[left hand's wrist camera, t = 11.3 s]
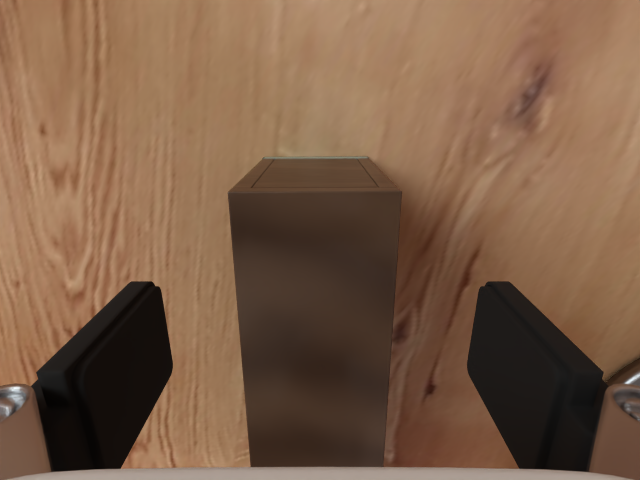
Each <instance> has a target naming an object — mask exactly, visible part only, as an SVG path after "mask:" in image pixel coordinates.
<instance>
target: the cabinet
mask: <svg viewBox="0 0 640 480" xmlns="http://www.w3.org/2000/svg"><path fill="white" fill-rule="evenodd" d="M401 196H402V191H401V190H400V189H399V188H398V187H397V186H396V185H395V184H394V183H393V182H392V181H391V180H390V179H389V178H388V177H387V176H386V175H385V174H384V173H383V172H382V171H381V170H380V169H379V168H378V167H377V166H376V165H375V164H374V163H373V162H372V161H371V160H370V159H369V158H368V157H264V158H263V159H262V160H261V161H260V162H259V163H258V164H257V165H256V166H255V167H254V168H253V169H252V170H251V171H250V172H249V173H248V174H247V175H246V176H245V177H243V178H242V179H241V180H240V181H239V182H238V183H237V184H236V185H235V186H234V187H233V188H232V189H231V190H230V191H229V192H228V200H229V212H230V224H231V236H232V248H233V260H234V272H235V284H236V296H237V308H238V320H239V332H240V344H241V356H242V368H243V380H244V392H245V404H246V416H247V428H248V440H249V452H250V464H251V467H383V462H384V447H385V432H386V418H387V403H388V388H389V373H390V359H391V344H392V329H393V314H394V300H395V285H396V270H397V255H398V241H399V226H400V211H401Z"/></svg>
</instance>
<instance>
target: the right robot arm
mask: <svg viewBox="0 0 640 480" xmlns="http://www.w3.org/2000/svg"><path fill="white" fill-rule="evenodd" d="M606 384H607V385H608V386H612V385H614V384H631V385H637V386H640V359H638V360H636V361H634V362H632V363H631V364H629V365H627V366H626V367H624V368H623V369H622V370H620V371H619V372H617V373H616V374H615V375H614V376H613V377H611V378H610V379H609V380H608V381H607V382H606Z"/></svg>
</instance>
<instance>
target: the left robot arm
mask: <svg viewBox="0 0 640 480" xmlns="http://www.w3.org/2000/svg"><path fill="white" fill-rule="evenodd" d="M172 369H173V361H172V355H171V349H170V343H169V336H168V330H167V324H166V318H165V311H164V305H163V299H162V293H161V289H160V287H158V286H155V285H154V283H153V282H130V283H129V284H128V285H127V286H126V287H125V288H123V289H122V290H121V291H120V292H119V293H118V294H117V295H116V296H115V297H114V298H113V299H112V300H111V301H110V302H109V303H108V304H107V305H106V306H105V307H104V308H103V309H102V310H101V311H100V312H99V313H98V314H96V315H95V316H94V317H93V318H92V319H91V320H90V321H89V322H88V323H87V324H86V325H85V326H84V327H83V328H82V329H81V330H80V331H79V332H78V333H77V334H76V335H75V336H74V337H73V338H72V339H71V340H69V341H68V342H67V343H66V344H65V345H64V346H63V347H62V348H61V349H60V350H59V351H58V352H57V353H56V354H55V355H54V356H53V357H52V358H51V359H50V360H49V361H48V362H47V363H46V364H45V365H43V366H42V367H41V368H40V369H39V370H38V371H37V372H36V373H37V376H38V380H37V381H36V382H35V383H34V384H33V385H32V386H28V385H26V384H9V385H3V386H0V480H640V386H637V385H631V384H614V385H612V386H608V385H607V384H606V383H605V382H604V381H603V380H602V376H603V373H604V372H603V371H602V370H601V369H600V368H599V367H598V366H597V365H595V364H594V363H593V362H592V361H591V360H590V359H589V358H588V357H587V356H586V355H585V354H584V353H583V352H582V351H581V350H580V349H579V348H578V347H577V346H576V345H575V344H574V343H573V342H572V341H571V340H569V339H568V338H567V337H566V336H565V335H564V334H563V333H562V332H561V331H560V330H559V329H558V328H557V327H556V326H555V325H554V324H553V323H552V322H551V321H550V320H549V319H548V318H547V317H546V316H545V315H544V314H542V313H541V312H540V311H539V310H538V309H537V308H536V307H535V306H534V305H533V304H532V303H531V302H530V301H529V300H528V299H527V298H526V297H525V296H524V295H523V294H522V293H521V292H520V291H519V290H518V289H517V288H515V287H514V286H513V285H512V284H511V283H510V282H487V283H486V285H485V286H482V287H480V289H479V293H478V299H477V305H476V311H475V318H474V324H473V330H472V336H471V343H470V349H469V355H468V361H467V369H468V373H469V376H470V378H471V380H472V382H473V383H474V385H475V387H476V389H477V391H478V393H479V395H480V396H481V398H482V400H483V402H484V404H485V406H486V408H487V409H488V411H489V413H490V415H491V417H492V419H493V420H494V422H495V424H496V426H497V428H498V430H499V432H500V433H501V435H502V437H503V439H504V441H505V443H506V445H507V446H508V448H509V450H510V452H511V454H512V456H513V458H514V459H515V461H516V463H517V465H518V467H519V469H498V468H449V467H191V468H142V469H121V467H122V465H123V463H124V461H125V459H126V458H127V456H128V454H129V452H130V450H131V448H132V446H133V445H134V443H135V441H136V439H137V437H138V435H139V433H140V432H141V430H142V428H143V426H144V424H145V422H146V420H147V419H148V417H149V415H150V413H151V411H152V409H153V408H154V406H155V404H156V402H157V400H158V398H159V396H160V395H161V393H162V391H163V389H164V387H165V385H166V383H167V382H168V380H169V378H170V376H171V373H172Z"/></svg>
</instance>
